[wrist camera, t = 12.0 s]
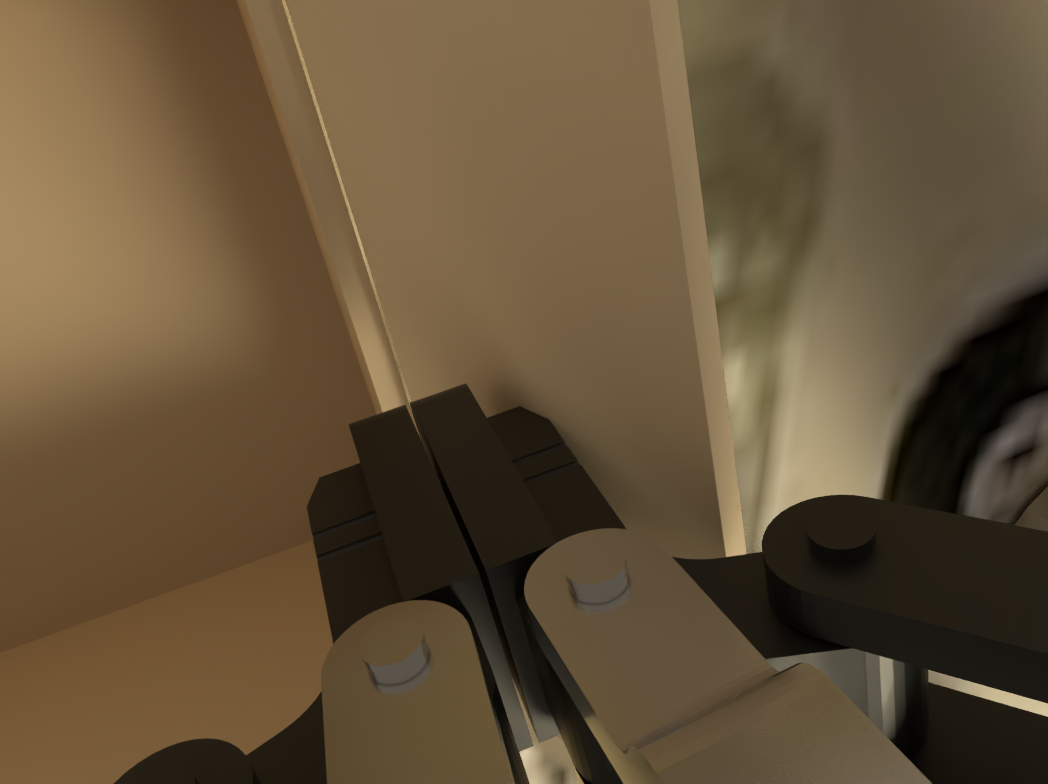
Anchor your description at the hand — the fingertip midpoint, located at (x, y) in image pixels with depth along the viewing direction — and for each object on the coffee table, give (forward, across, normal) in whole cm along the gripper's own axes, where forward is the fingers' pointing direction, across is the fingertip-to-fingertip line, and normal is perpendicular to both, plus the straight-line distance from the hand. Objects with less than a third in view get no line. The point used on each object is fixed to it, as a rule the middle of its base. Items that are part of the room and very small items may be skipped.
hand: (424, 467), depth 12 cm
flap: (+2, 0, 0) cm, 2 cm away
